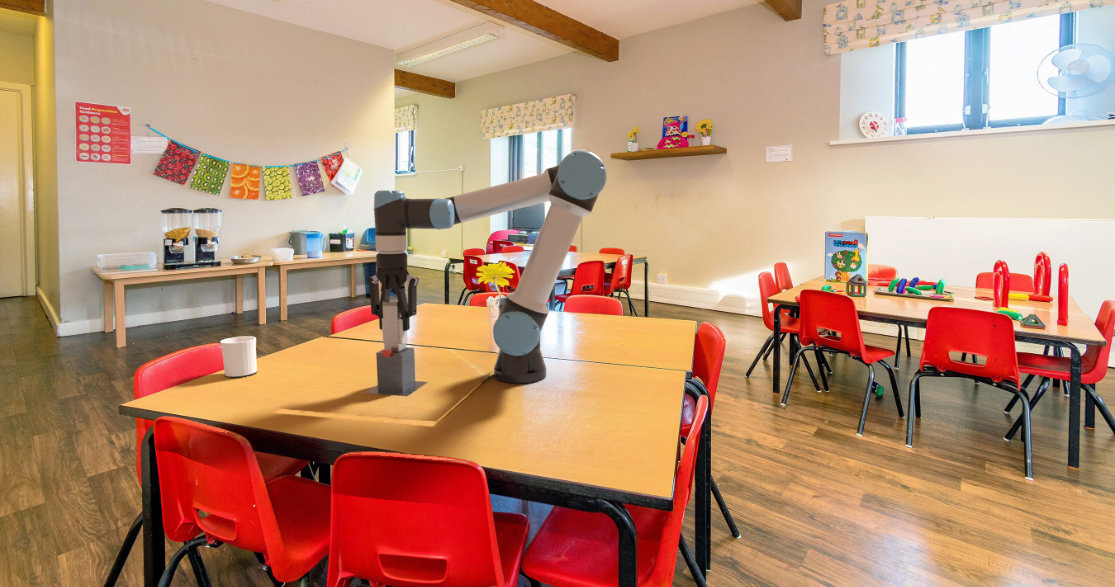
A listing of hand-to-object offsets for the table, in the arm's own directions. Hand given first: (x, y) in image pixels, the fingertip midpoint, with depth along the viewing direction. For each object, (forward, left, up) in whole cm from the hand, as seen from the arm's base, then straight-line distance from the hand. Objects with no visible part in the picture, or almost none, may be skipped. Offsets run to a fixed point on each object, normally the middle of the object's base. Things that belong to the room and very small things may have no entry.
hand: (395, 342), depth 141 cm
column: (0, 0, -12) cm, 12 cm away
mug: (+52, -5, -13) cm, 54 cm away
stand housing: (0, 0, -13) cm, 13 cm away
